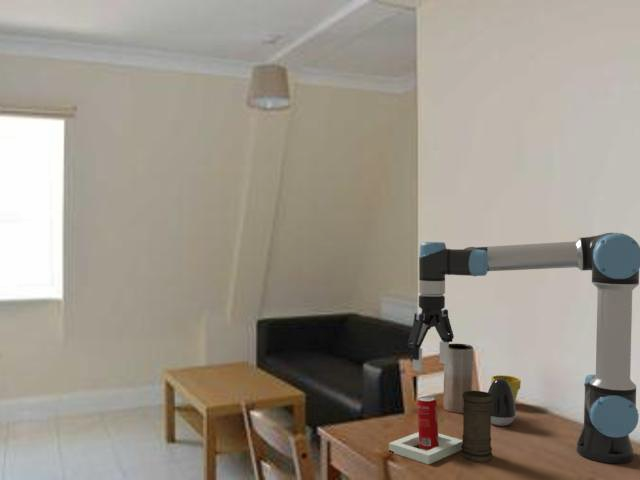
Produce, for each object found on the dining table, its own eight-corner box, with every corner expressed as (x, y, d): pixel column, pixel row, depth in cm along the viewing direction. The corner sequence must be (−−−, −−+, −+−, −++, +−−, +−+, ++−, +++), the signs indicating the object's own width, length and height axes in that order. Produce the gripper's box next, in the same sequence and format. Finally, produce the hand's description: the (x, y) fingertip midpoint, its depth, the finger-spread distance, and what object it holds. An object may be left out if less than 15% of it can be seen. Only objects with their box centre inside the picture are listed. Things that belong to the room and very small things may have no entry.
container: (486, 464, 184) (488, 400, 184) (455, 457, 189) (457, 395, 189) (496, 454, 192) (498, 393, 191) (466, 448, 197) (467, 388, 196)
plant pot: (524, 404, 245) (525, 378, 244) (513, 410, 237) (513, 383, 236) (498, 399, 251) (498, 373, 251) (486, 405, 243) (486, 378, 243)
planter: (477, 409, 238) (478, 346, 237) (462, 415, 230) (463, 350, 230) (452, 403, 245) (454, 342, 244) (437, 409, 237) (439, 345, 236)
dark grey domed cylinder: (519, 422, 223) (520, 377, 222) (510, 430, 214) (511, 383, 214) (489, 417, 228) (490, 373, 228) (479, 424, 220) (480, 379, 219)
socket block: (463, 448, 196) (464, 439, 196) (428, 464, 184) (428, 454, 183) (424, 437, 206) (425, 428, 206) (388, 451, 193) (388, 442, 193)
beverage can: (440, 452, 194) (441, 401, 193) (418, 451, 194) (419, 400, 193) (436, 445, 199) (437, 395, 199) (415, 444, 199) (415, 395, 199)
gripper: (444, 290, 205) (443, 358, 206) (395, 296, 187) (394, 371, 188) (465, 292, 200) (464, 362, 201) (417, 299, 182) (416, 376, 183)
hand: (430, 367), depth 194 cm, fingers open, 13 cm apart
